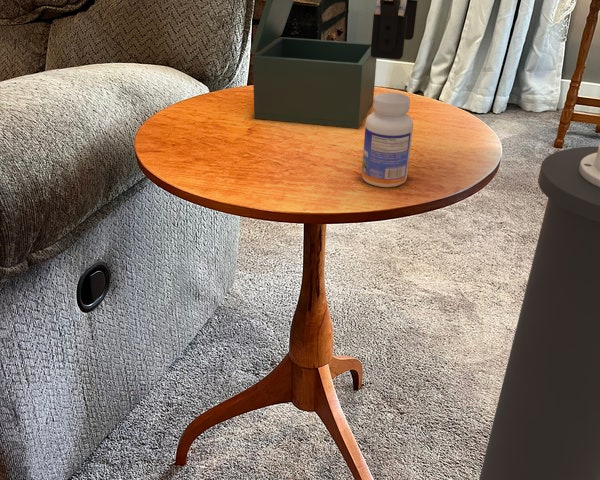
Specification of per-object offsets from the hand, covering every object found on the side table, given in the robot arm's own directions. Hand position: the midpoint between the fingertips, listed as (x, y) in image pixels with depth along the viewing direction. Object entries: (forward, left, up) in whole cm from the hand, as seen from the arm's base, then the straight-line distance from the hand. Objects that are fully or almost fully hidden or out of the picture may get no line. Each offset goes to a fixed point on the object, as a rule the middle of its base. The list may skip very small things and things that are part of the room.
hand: (392, 47), depth 69 cm
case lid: (+18, -24, +2) cm, 30 cm away
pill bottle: (0, 0, -15) cm, 15 cm away
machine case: (+14, -24, -15) cm, 31 cm away
